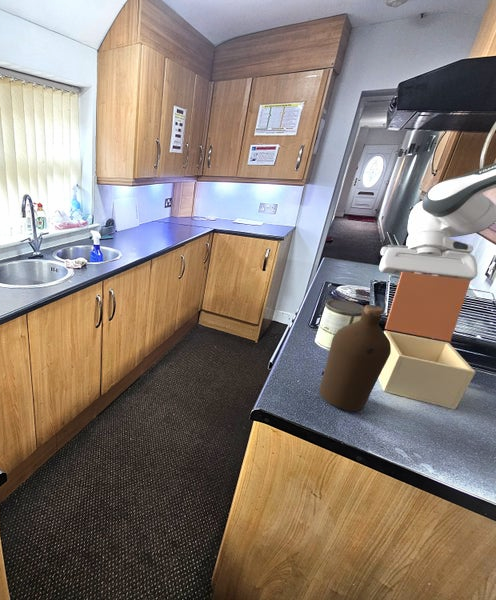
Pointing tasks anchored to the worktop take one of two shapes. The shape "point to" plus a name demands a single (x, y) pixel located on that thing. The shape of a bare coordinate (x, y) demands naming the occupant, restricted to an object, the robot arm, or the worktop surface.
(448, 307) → the lid
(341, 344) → the brown bottle
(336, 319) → the coffee can
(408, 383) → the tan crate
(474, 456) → the worktop surface
